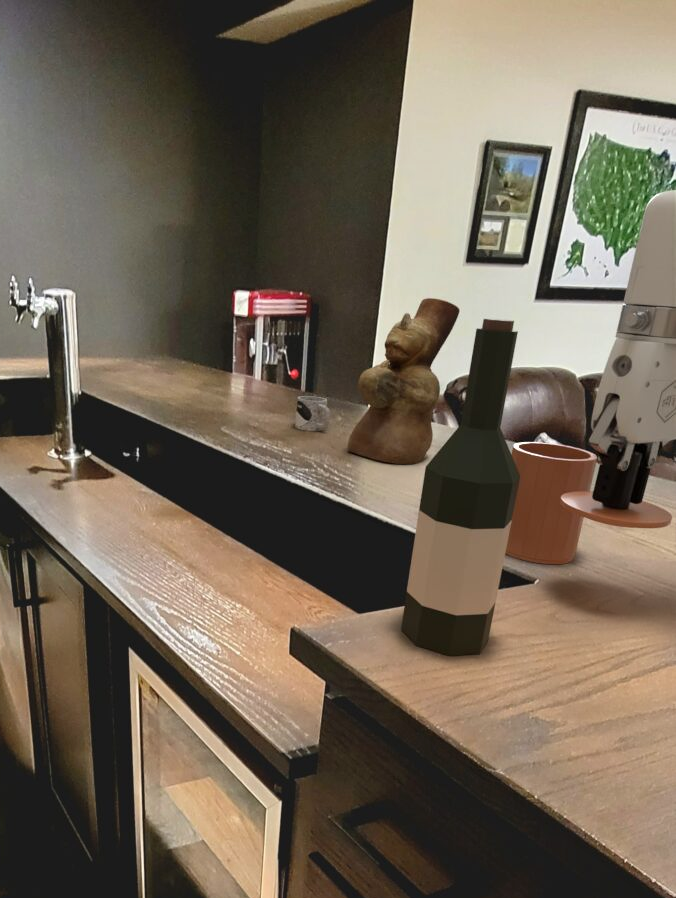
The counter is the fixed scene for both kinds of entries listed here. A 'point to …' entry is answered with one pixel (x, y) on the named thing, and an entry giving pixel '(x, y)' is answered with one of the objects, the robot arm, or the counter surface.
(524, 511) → the cup
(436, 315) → the ceramic vessel
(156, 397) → the counter surface
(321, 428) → the mug
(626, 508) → the shaker lid
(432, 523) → the wine bottle
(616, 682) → the counter surface
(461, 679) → the counter surface
